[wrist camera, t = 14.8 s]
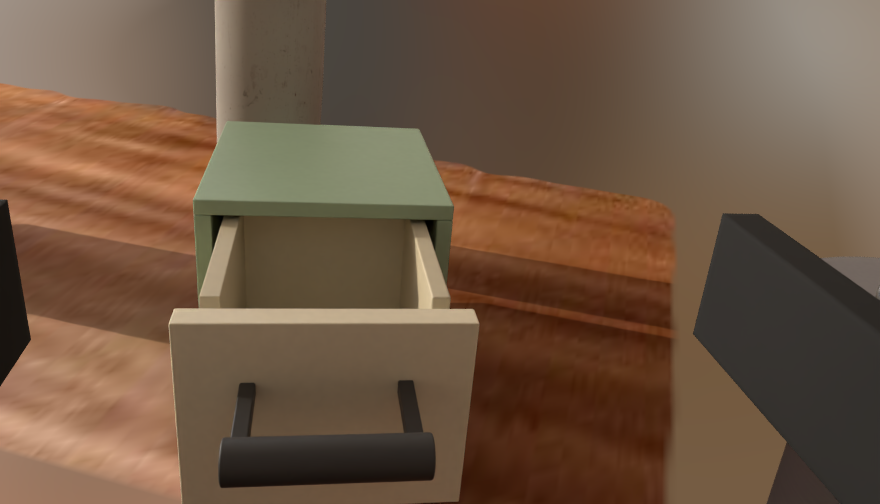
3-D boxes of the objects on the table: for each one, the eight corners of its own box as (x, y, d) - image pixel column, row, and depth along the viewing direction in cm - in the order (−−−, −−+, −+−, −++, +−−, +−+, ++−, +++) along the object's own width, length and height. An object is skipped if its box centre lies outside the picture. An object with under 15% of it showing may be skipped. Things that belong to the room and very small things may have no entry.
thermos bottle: (196, 215, 61) (185, -181, 49) (263, 192, 67) (267, -164, 56) (273, 243, 57) (280, -175, 46) (336, 215, 64) (355, -157, 53)
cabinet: (437, 383, 42) (454, 206, 38) (203, 387, 40) (192, 199, 36) (409, 270, 55) (419, 128, 51) (231, 268, 53) (226, 120, 49)
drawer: (481, 598, 28) (510, 400, 24) (158, 618, 26) (137, 407, 22) (420, 339, 45) (432, 199, 41) (221, 340, 43) (215, 194, 39)
